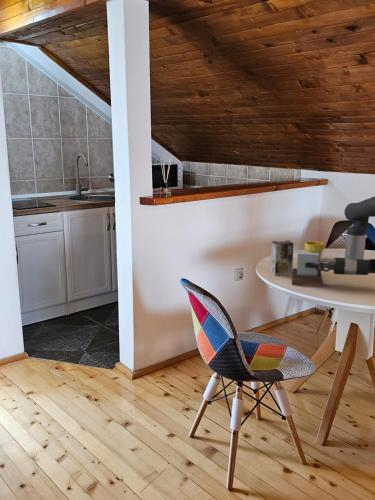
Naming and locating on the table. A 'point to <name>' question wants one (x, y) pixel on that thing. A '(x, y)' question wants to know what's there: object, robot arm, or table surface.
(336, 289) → the table surface
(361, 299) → the table surface
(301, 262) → the light grey upright block
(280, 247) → the coffee box
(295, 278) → the rack
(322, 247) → the plant pot
